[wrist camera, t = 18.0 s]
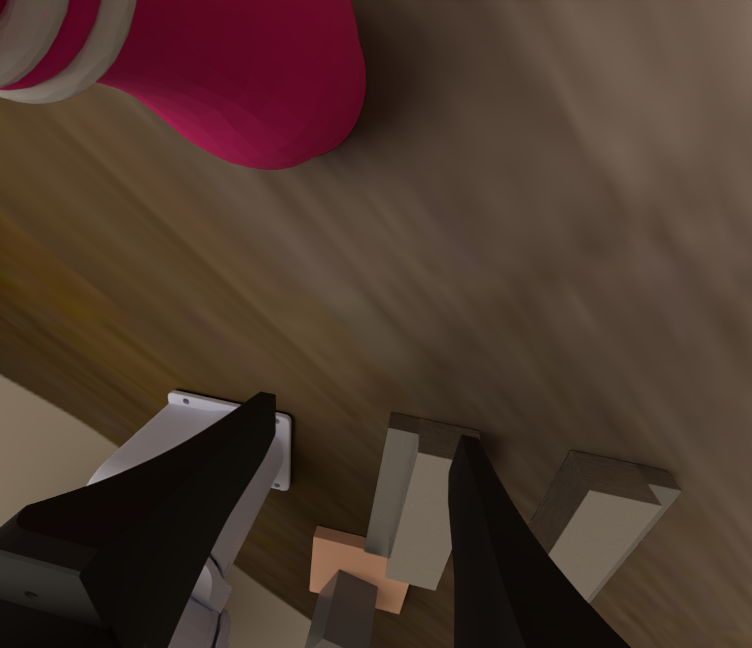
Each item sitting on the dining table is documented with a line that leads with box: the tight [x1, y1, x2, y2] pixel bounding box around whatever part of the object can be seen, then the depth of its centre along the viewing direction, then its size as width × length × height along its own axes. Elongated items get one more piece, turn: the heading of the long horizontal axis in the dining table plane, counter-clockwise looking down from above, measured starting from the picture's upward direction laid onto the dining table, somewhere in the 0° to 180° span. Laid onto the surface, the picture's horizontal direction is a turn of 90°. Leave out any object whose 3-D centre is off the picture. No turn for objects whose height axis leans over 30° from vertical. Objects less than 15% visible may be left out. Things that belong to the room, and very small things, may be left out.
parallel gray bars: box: [364, 412, 682, 603], centre depth 24 cm, size 18×14×3 cm
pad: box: [310, 526, 409, 614], centre depth 31 cm, size 9×9×1 cm
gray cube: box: [305, 569, 378, 648], centre depth 29 cm, size 4×5×5 cm
